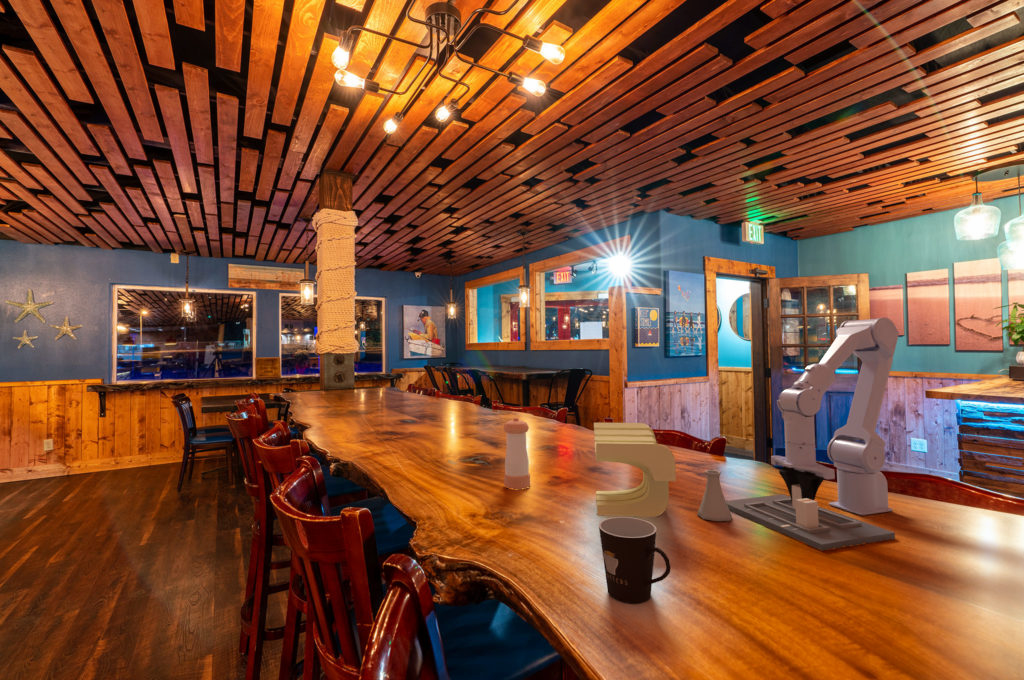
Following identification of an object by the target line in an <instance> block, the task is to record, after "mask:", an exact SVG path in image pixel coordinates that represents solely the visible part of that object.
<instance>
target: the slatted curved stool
mask: <svg viewBox="0 0 1024 680" xmlns="http://www.w3.org/2000/svg"><path fill="white" fill-rule="evenodd" d="M654 432H655V431H653V429H652V427H650V426H649V425H648V424H646V423H643V422H593V434H594V435H593V438H594V453H595V461H596V462H606V463H607V462H608V463H611V462H612V463H619V464H625V465H630V466H634V467H636V468H638V469H640V470H641V471H642V476H643V477H642V478H643V479H642V482H641V483H640V484H639V485H638V486H636V487H633V488H631V489H623V490H596V491H595V500H596V514H597V516H615V517H643V518H644V517H645V518H646V517H647V518H653V517H654V518H655V517H659V516H660V515H662V514H663V513H664V512H665V511H666V509H667V508H668V505H669V491H670V489H669V487H670V486H669V483H670V482H676V481H677V477H676V476H677V475H676V469H677V467H676V466H677V465H676V458H675V455H674V453H673V452H672V450H671V449H670V448H669V447H668V446H666V445H663V444H659V443H658V442H657V438H656V435H655V433H654Z"/></svg>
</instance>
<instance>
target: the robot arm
mask: <svg viewBox="0 0 1024 680" xmlns="http://www.w3.org/2000/svg"><path fill="white" fill-rule="evenodd" d="M899 335H900V331H899V330H898V328H897V327H896V325H895V323H894V322H893V320H892V319H890V318H889V317H878V318H868V319H857V320H852V319H849V320H845V321H843V322H842V323H841V324H840V326H839V327H838V328H837V329H836V330H835V337H836V338H835V339H834V341H833V342H832V344H831V345H830V346H829V348H828V349H827V350H826V352H825V354H823V357H822V358H821V359H820V361H819V362H818V363H812V364H809V365H806V367H805V368H804V370H805V371H804V372H803V373H802V374H801V375H800V376H799V378H798V379H797V381H794V382H793V385H792V386H791V387H790V388H785V389H784V390H783V391H782V392H781V393H780V394H779V396H778V400H776V404H777V408H778V410H780V413H781V418H782V419H783V423H784V442H785V443H784V446H785V447H784V448H785V456H782V455H771V456H770V464H771V465H773V466H780V467H783V468H782V469H778V473H779V475H780V476H781V478H782V480H783V482H784V484H785V486H786V487H787V491H788V493H789V494H788V495H789V497H791V500H792V485H796V484H800V487H801V493H802V499H804V498H808V499H811V500H814V501H816V500H815V499H816V496H817V493H818V490H819V488H820V486H821V485H822V483H823V482H824V480H837V482H836V483H837V485H836V486H837V500H836V501H831V502H828V505H829V506H832V507H833V508H834V507H835V508H838V509H841V510H843V511H847V512H850V513H853V514H856V515H860V516H868V515H874V514H880V513H881V514H882V513H886V512H887V513H888V512H893V508H891V507H889V495H888V494H889V492H888V490H889V489H888V480H887V479H886V476H885V475H884V474H883V473H882V472H881V471H880V470H882V468H883V466H884V464H885V463H886V462H885V461H886V455H885V454H886V453H885V446H886V442H885V440H884V438H882V437H881V436H880V435H879V434H878V433H877V432H876V429H877V425H878V421H879V419H880V418H879V417H880V413H881V409H882V404H883V401H884V397H885V393H886V389H887V385H888V381H889V377H890V372H891V369H892V364H893V360H894V359H893V358H894V355H895V351H896V347H897V343H898V339H899ZM852 354H853V355H854V356H855V357H856V358H859V359H860V361H861V367H860V371H859V373H858V378H857V383H856V386H855V389H854V394H853V397H852V402H851V405H850V409H849V414H848V416H847V421H846V424H845V425H843V426H842V427H839V428H837V429H836V430H835V431H834V434H833V437H832V438H831V439H830V441H829V442H828V444H827V448H826V449H827V450H826V451H827V452H826V453H827V457H828V459H829V460H830V461H831V462H833V467H835V468H836V471H835V469H834V468H830V467H827V466H825V465H824V464H823V465H822V464H820V463H817V458H816V457H817V456H816V455H817V454H816V436H815V415H816V414H817V413H818V412H819V411H820V409H821V405H822V403H821V402H822V400H823V395H824V394H825V392H827V391H828V389H829V388H830V387H831V386H832V384H833V383H834V382H835V381H836V375H835V374H836V373H835V372H836V371H837V369H839V368H840V366H841V365H843V363H844V362H845V361H846V360H847V359H848V358H849V357H850V356H851V355H852ZM835 473H836V475H835ZM835 478H837V479H835Z"/></svg>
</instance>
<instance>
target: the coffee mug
mask: <svg viewBox="0 0 1024 680" xmlns="http://www.w3.org/2000/svg"><path fill="white" fill-rule="evenodd" d="M598 529H599V536H600V537H599V538H600V543H601V551H602V558H603V559H602V560H603V565H604V573H605V582H606V588H607V594H608V595H609V597H611V598H612V600H615V601H617V602H620V603H623V604H627V605H639V604H644V603H646V602H648V601H649V600H650V599H651V595H652V585H653V584H656V583H658V582H661V581H663V580H665V579H666V578H667V577H668V576H669V574H670V573H671V570H672V569H671V568H672V567H671V563H670V559H669V557H668V555H667V554H666V552H665V551H663V550H662V549H661V548H659V547H656V541H657V540H656V538H657V527H656V525H654V524H653V523H652V522H650V521H648V520H645V519H642V518H638V517H633V516H613V517H609V518H605V519H603V520H601V521H600V522H599V523H598ZM655 553H658V554H659V555H660V557H662V558H663V560H664V562H665V563H664V564H665V571H664V572H663V574H662V575H660V576H658V577H655V578H653V574H654V573H653V572H654V563H655V562H654V561H655Z"/></svg>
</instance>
